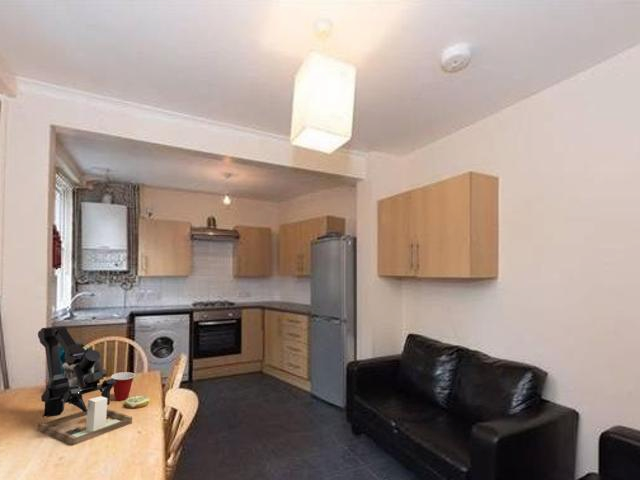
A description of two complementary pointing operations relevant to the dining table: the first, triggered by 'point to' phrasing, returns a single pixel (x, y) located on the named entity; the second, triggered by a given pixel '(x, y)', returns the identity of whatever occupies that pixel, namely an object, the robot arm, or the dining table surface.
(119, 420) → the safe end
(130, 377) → the plastic cup
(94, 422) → the pale cream block
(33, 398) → the dining table surface
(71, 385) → the apothecary jar
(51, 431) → the brown flat frame
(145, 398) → the decorated donut
